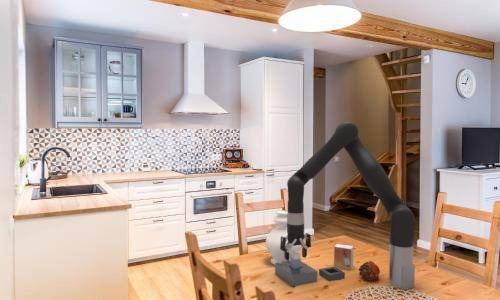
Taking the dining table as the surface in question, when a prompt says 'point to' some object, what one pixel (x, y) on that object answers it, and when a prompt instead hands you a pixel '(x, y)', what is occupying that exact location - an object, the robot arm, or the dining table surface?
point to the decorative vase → (279, 238)
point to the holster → (331, 273)
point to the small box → (343, 256)
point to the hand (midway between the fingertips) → (295, 258)
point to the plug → (295, 260)
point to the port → (295, 273)
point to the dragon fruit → (369, 271)
